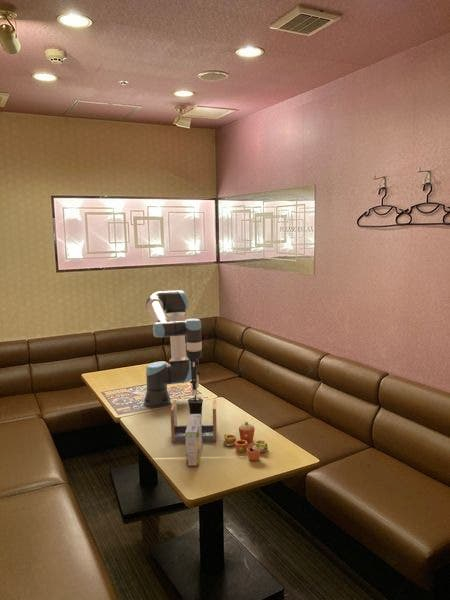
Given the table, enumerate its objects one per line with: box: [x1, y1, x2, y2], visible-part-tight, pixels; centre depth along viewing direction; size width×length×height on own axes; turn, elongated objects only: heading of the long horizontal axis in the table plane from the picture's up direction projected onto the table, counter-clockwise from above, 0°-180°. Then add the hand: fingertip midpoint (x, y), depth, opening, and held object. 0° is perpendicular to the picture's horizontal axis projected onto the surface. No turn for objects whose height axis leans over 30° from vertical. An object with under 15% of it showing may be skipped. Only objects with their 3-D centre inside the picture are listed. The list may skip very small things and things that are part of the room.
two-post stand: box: [170, 398, 218, 444], centre depth 230 cm, size 13×21×16 cm, turn 91°
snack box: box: [185, 413, 204, 467], centre depth 210 cm, size 21×6×15 cm, turn 178°
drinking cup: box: [187, 396, 204, 419], centre depth 243 cm, size 8×8×20 cm
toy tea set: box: [222, 421, 269, 461], centre depth 216 cm, size 26×16×10 cm, turn 32°
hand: (195, 391), depth 241 cm, fingers open, 13 cm apart
